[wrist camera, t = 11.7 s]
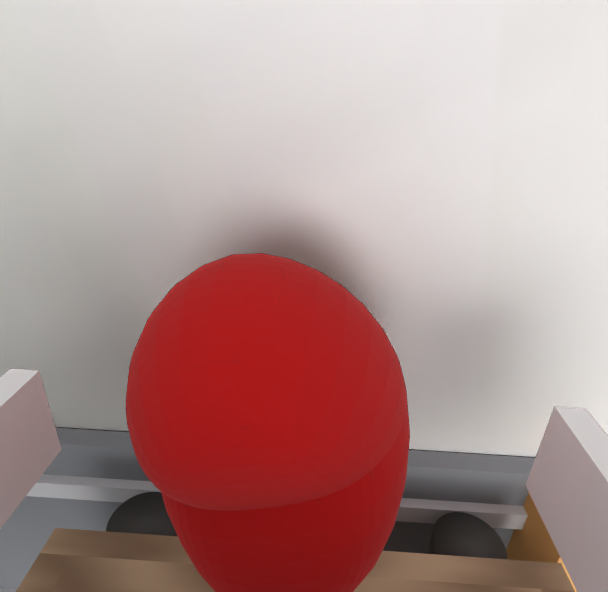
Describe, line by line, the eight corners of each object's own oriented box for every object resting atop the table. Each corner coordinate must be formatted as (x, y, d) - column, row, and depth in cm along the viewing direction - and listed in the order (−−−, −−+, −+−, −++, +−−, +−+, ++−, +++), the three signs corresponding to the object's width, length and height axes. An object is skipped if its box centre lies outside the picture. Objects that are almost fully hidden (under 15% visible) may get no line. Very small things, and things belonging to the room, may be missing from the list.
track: (-51, 594, 28) (-107, 670, 24) (-153, 414, 21) (-251, 481, 17) (491, 635, 27) (516, 720, 23) (564, 459, 20) (616, 540, 16)
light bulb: (395, 384, 19) (458, 659, 10) (242, 406, 20) (171, 674, 11) (361, 171, 15) (416, 300, 6) (173, 211, 16) (-32, 375, 7)
